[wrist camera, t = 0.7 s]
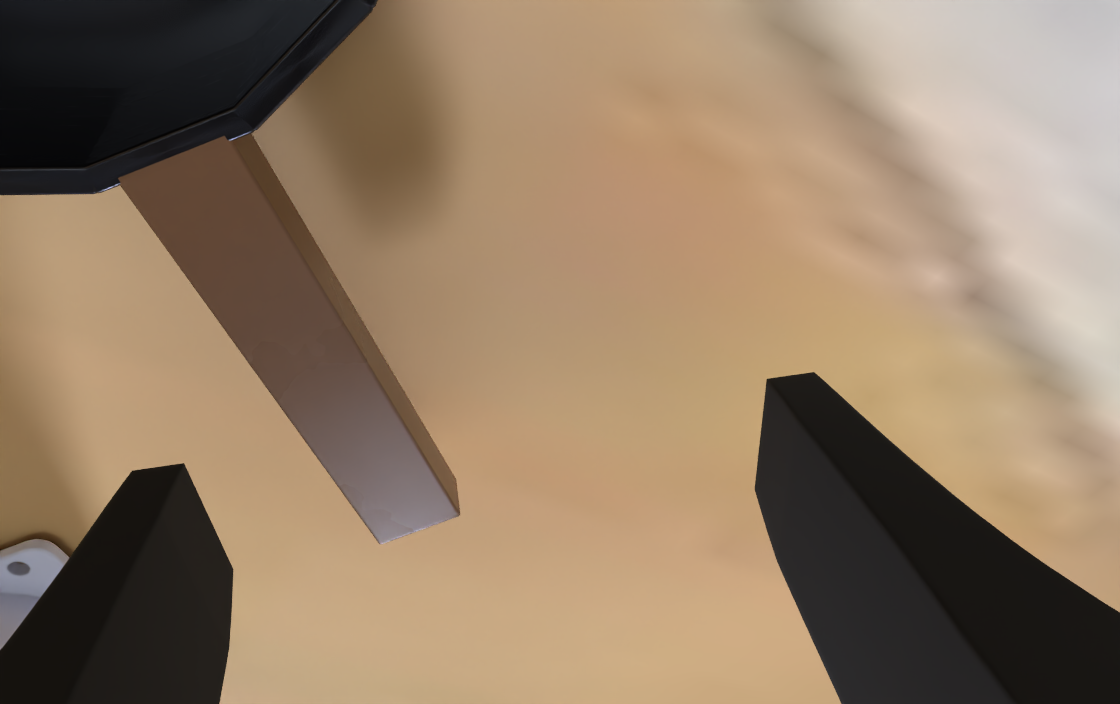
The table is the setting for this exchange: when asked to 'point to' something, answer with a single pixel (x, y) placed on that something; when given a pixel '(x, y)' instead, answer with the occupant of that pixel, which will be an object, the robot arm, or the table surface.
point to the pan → (222, 205)
